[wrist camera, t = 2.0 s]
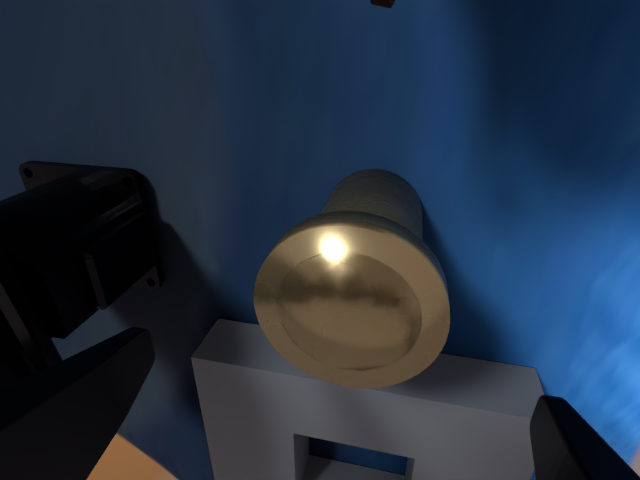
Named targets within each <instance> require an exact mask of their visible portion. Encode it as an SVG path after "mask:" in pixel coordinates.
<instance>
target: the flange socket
mask: <svg viewBox="0 0 640 480" xmlns="http://www.w3.org/2000/svg"><path fill="white" fill-rule="evenodd" d="M191 360H192V365H193V371H194V376H195V381H196V386H197V391H198V396H199V401H200V407H201V412H202V417H203V422H204V427H205V432H206V437H207V442H208V448H209V453H210V458H211V463H212V468H213V473H214V478H215V480H530V479H531V477H532V475H533V472H534V470H535V468H534V461H533V454H532V446H531V439H530V429H529V427H530V420H531V417H532V415H533V412H534V409H535V407H536V404H537V401H538V399H539V397H540V396H541V395H544V392H543V389H542V386H541V383H540V380H539V377H538V374H537V371H536V368H531V367H524V366H518V365H512V364H505V363H499V362H493V361H486V360H480V359H473V358H467V357H461V356H454V355H448V354H442V353H440V354H439V355H438V356H437V358H436V359H435V360H434V361H433V362H432V363H431V364H430V365H429V366H428V367H427V368H426V369H425V370H423V371H422V372H421V373H419V374H417V375H416V376H414V377H412V378H410V379H408V380H406V381H403V382H401V383H398V384H394V385H391V386H385V387H379V388H352V387H344V386H340V385H335V384H331V383H328V382H325V381H322V380H320V379H317V378H315V377H313V376H311V375H309V374H307V373H305V372H303V371H301V370H300V369H298V368H297V367H295V366H294V365H292V364H291V363H290V362H289V361H287V360H286V359H285V358H284V357H283V356H282V355H281V354H280V353H279V352H278V351H277V350H276V349H275V348H274V347H273V346H272V344H271V343H270V342H269V340H268V339H267V337H266V336H265V334H264V332H263V331H262V328H261V326H260V325H257V324H250V323H244V322H237V321H231V320H225V319H218V320H217V321H216V323H215V324H214V326H213V327H212V328H211V330H210V331H209V333H208V334H207V335H206V337H205V338H204V340H203V341H202V342H201V344H200V345H199V347H198V348H197V349H196V351H195V352H194V354H193V355H192V356H191ZM309 437H313V438H318V439H323V440H327V441H332V442H337V443H342V444H346V445H351V446H356V447H361V448H366V449H370V450H375V451H380V452H385V453H389V454H394V455H399V456H404V457H408V459H407V465H406V471H405V476H404V475H400V474H395V473H390V472H386V471H381V470H377V469H372V468H367V467H363V466H358V465H354V464H349V463H345V462H340V461H335V460H331V459H326V458H322V457H317V456H313V455H309Z"/></svg>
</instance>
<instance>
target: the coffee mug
mask: <svg viewBox="0 0 640 480" xmlns="http://www.w3.org/2000/svg"><path fill="white" fill-rule="evenodd" d="M394 2H395V0H371V4H373V5H378V6H382V7H387V8H391V7H392V6H393V4H394Z"/></svg>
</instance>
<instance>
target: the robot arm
mask: <svg viewBox="0 0 640 480" xmlns="http://www.w3.org/2000/svg"><path fill="white" fill-rule="evenodd" d="M19 171H20V175H21V177H22V180H23V183H24V186H25V189H26V191H24V192H22V193H19V194H17V195H14V196H12V197H9V198H7V199H4V200H2V201H0V480H86V479H87V478H88V476H89V474H90V473H91V471H92V470H93V468H94V467H95V465H96V464H97V462H98V460H99V459H100V457H101V456H102V454H103V453H104V451H105V450H106V448H107V447H108V445H109V443H110V442H111V440H112V439H113V437H114V436H115V434H116V433H117V431H118V429H119V428H120V426H121V425H122V423H123V421H124V420H125V418H126V416H127V414H128V412H129V411H130V409H131V407H132V405H133V403H134V401H135V399H136V397H137V395H138V393H139V391H140V389H141V387H142V385H143V383H144V381H145V380H146V378H147V376H148V374H149V372H150V370H151V368H152V366H153V364H154V361H155V350H154V346H153V342H152V338H151V334H150V332H149V331H148V330H147V329H142V328H136V327H132V328H129V329H127V330H125V331H123V332H121V333H119V334H117V335H115V336H112V337H110V338H108V339H106V340H104V341H102V342H100V343H98V344H96V345H94V346H92V347H90V348H88V349H86V350H84V351H82V352H80V353H77V354H75V355H73V356H71V357H69V358H67V359H65V360H62V358H61V356H60V354H59V352H58V351H57V349H56V347H55V345H54V343H53V341H52V340H51V338H53V337H56V338H61V339H64V338H66V337H67V336H68V335H70V334H71V333H72V332H73V331H74V330H75V329H77V328H78V327H79V326H80V325H81V324H82V323H84V322H85V321H86V320H87V319H88V318H89V317H91V316H92V315H93V314H94V313H95V312H96V311H98V310H99V309H101V310H104V309H106V308H107V307H108V306H110V305H111V304H112V303H113V302H114V301H115V300H116V299H118V298H119V297H120V296H121V295H122V294H123V293H124V292H126V291H127V290H128V289H129V288H130V287H134V288H141V289H147V290H157V289H159V288H160V287H161V286H162V285H163V283H164V277H163V273H162V268H161V263H160V258H159V253H158V248H157V244H156V239H155V234H154V229H153V225H152V220H151V216H150V211H149V206H148V202H147V197H146V192H145V187H144V183H143V179H142V176H141V175H140V174H139V172H137V171H136V170H133V169H127V168H115V167H102V166H90V165H78V164H65V163H53V162H41V161H28V162H25V163H22V164H21V165H20V167H19ZM31 171H32V172H31ZM129 178H130V179H132V181H133V184H132V183H131V182H130V181H129ZM152 279H153V280H154V281H155V282H154V281H153V280H152ZM529 429H530V439H531V446H532V454H533V461H534V468H535V476H536V480H640V477H639V476H638V475H637V474H636V473H635V472H634V471H633V469H632V468H631V467H630V466H629V465H628V464H627V463H626V462H625V461H624V460H623V459H622V458H621V457H620V456H619V455H618V454H617V453H616V452H615V451H614V450H613V449H612V448H611V447H610V446H609V445H608V444H607V442H606V441H605V440H604V439H603V438H602V437H601V436H600V435H599V434H598V433H597V432H596V431H595V430H594V429H593V428H592V427H591V426H590V425H589V424H588V423H587V422H586V421H585V420H584V419H583V418H582V417H581V415H580V414H579V413H578V412H577V411H576V410H575V409H574V408H573V407H572V406H571V405H570V404H569V403H568V402H567V401H566V400H565V399H563V398H561V397H555V396H549V395H541V396H540V397H539V399H538V401H537V404H536V407H535V409H534V412H533V415H532V417H531V420H530V427H529Z"/></svg>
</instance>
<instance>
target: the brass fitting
mask: <svg viewBox="0 0 640 480" xmlns="http://www.w3.org/2000/svg"><path fill="white" fill-rule="evenodd" d="M254 306H255V312H256V315H257V319H258V322H259V324H260V326H261V328H262V331H263V332H264V334H265V336H266V337H267V339H268V340H269V342H270V343H271V344H272V346H273V347H274V348H275V349H276V350H277V351H278V352H279V353H280V354H281V355H282V356H283V357H284V358H285V359H286V360H287V361H289V362H290V363H291V364H292V365H294V366H295V367H297V368H298V369H300V370H301V371H303V372H305V373H307V374H309V375H311V376H313V377H315V378H317V379H320V380H322V381H325V382H328V383H331V384H335V385H340V386H344V387H352V388H379V387H385V386H391V385H394V384H398V383H401V382H403V381H406V380H408V379H410V378H412V377H414V376H416V375H417V374H419V373H421V372H422V371H423V370H425V369H426V368H427V367H428V366H429V365H430V364H431V363H432V362H433V361H434V360H435V359H436V358H437V356H438V355H439V354H440V352H441V351H442V349H443V347H444V345H445V343H446V340H447V337H448V333H449V328H450V307H449V297H448V287H447V282H446V278H445V275H444V272H443V270H442V267H441V265H440V263H439V261H438V260H437V258H436V256H435V255H434V253H433V252H432V251H431V250H430V248H429V247H428V246H427V245H426V244H425V243H424V242H423V241H422V206H421V201H420V199H419V196H418V195H417V193H416V191H415V190H414V188H413V187H412V186H411V185H410V184H409V183H408V182H407V181H406V180H405V179H403V178H402V177H400V176H399V175H397V174H395V173H392V172H389V171H386V170H380V169H367V170H362V171H358V172H355V173H353V174H351V175H349V176H347V177H346V178H345V179H343V180H342V181H341V182H340V183H339V184H338V185H337V186H336V188H335V189H334V191H333V193H332V194H331V196H330V198H329V200H328V201H327V203H326V205H325V207H324V209H323V210H322V212H321V214H318V215H316V216H313V217H310V218H307V219H306V220H304V221H302V222H300V223H298V224H296V225H295V226H294V227H292V228H291V229H290V230H288V231H287V232H286V233H285V234H284V235H283V236H282V237H281V238H280V240H279V241H278V243H277V244H276V245H275V247H274V248H273V250H272V251H271V252H270V254H269V255H268V257H267V258H266V260H265V261H264V263H263V264H262V266H261V268H260V270H259V272H258V275H257V278H256V281H255V287H254Z"/></svg>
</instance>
